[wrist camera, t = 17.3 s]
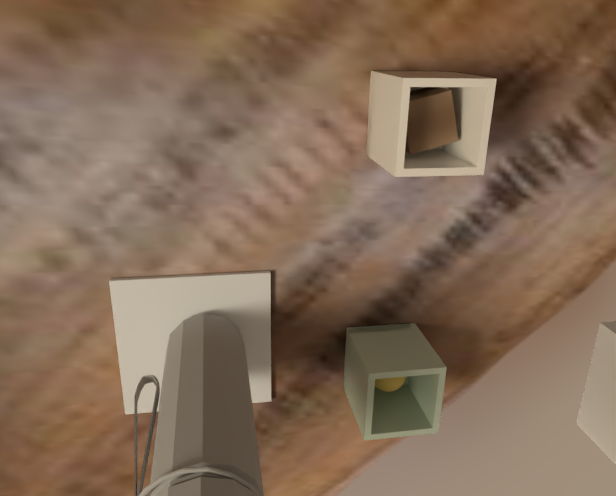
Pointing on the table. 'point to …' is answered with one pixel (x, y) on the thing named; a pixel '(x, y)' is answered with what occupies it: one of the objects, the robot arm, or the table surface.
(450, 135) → the walnut block
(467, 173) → the cream open box
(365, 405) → the sage open box
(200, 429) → the water bottle
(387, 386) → the mustard ball
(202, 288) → the felt mat
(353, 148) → the table surface
